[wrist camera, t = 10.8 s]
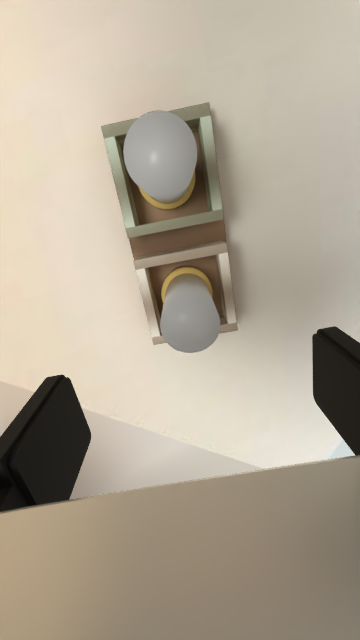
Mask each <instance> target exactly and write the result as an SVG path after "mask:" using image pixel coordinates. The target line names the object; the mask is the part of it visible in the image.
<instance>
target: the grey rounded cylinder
mask: <svg viewBox="0 0 360 640" xmlns="http://www.w3.org/2000/svg"><path fill="white" fill-rule="evenodd" d="M161 296H162V301H163V310H162V315H161V321H160V329H161V333H162V336H163V338H164V339H165V341H166V342H167V343H168V344H169V345H170V346H171V347H173V348H174V349H176V350H178V351H181V352H186V353H193V352H199V351H202V350H204V349H206V348H207V347H209V346H210V345H211V344H212V343H213V342H214V341H215V340H216V338H217V336H218V334H219V331H220V317H219V314H218V312H217V309H216V307H215V304H214V302H213V300H212V297H213V290H212V286H211V283H210V281H209V279H208V277H207V276H206V274H205V273H204V272H203V271H202V270H201V269H199V268H197V267H194V266H190V265H183V266H179V267H176V268H175V269H173V270H172V271H170V272H169V273H168V275H167V276H166V278H165V280H164V283H163V287H162V292H161Z"/></svg>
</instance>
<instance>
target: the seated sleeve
mask: <svg viewBox="0 0 360 640" xmlns="http://www.w3.org/2000/svg"><path fill="white" fill-rule="evenodd" d="M123 153H124V162H125V165H126V168H127V171H128V173H129V175H130V177H131V178H132V180H133V181H134V182H135V183H136V184H137V185H138V187H139V189H140V192H141V193H142V195H143V197H144V198H145V199H146V200H147V201H148V202H149V203H150V204H152V205H153V206H155V207H157V208H160V209H164V210H171V209H175V208H178V207H180V206H181V205H183V204H184V203H185V202H186V201H187V200H188V198H189V197H190V195H191V193H192V191H193V188H194V185H195V176H196V175H195V167H196V162H197V145H196V141H195V138H194V135H193V133H192V131H191V129H190V128H189V126H188V125H187V124H186V123H185V122H184V121H183V120H182V119H181V118H180V117H178V116H177V115H175V114H173V113H171V112H168V111H152V112H148V113H146V114H144V115H142V116H141V117H139V118H138V119H137V120H136V121H135V122H134V123H133V124H132V125H131V127H130V129H129V130H128V133H127V135H126V138H125V142H124V150H123Z"/></svg>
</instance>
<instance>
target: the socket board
mask: <svg viewBox="0 0 360 640" xmlns="http://www.w3.org/2000/svg"><path fill="white" fill-rule="evenodd" d="M168 112H171V113H173V114H175V115H177V116H178V117H180V118H181V119H182V120H183V121H184V122H185V123H186V124H187V125H188V126H189V128H190V129H191V131H192V133H193V135H194V138H195V141H196V145H197V162H196V167H195V175H196V176H195V185H194V188H193V191H192V193H191V195H190V197H189V198H188V200H187V201H186V202H185V203H184V204H183V205H181V206H180V207H178V208H175V209H171V210H164V209H160V208H157V207H155V206H153V205H152V204H150V203H149V202H148V201H147V200H146V199H145V198H144V197H143V195H142V193H141V192H140V189H139V187H138V185H137V184H136V183H135V182H134V181H133V180H132V178H131V177H130V175H129V173H128V171H127V168H126V165H125V162H124V153H123V150H124V142H125V138H126V135H127V133H128V130H129V129H130V127H131V125H132V124H133V123H134V122H135V121H136V120H137V119H138V118H136V119H131V120H127V121H122V122H118V123H113V124H109V125H104V126H101V128H102V132H103V136H104V140H105V145H106V149H107V153H108V157H109V161H110V165H111V170H112V174H113V178H114V182H115V186H116V190H117V195H118V199H119V203H120V207H121V211H122V215H123V219H124V224H125V228H126V232H127V236H128V238H129V241H130V245H131V249H132V253H133V257H134V265H135V269H136V274H137V278H138V282H139V286H140V290H141V294H142V299H143V303H144V307H145V311H146V315H147V319H148V323H149V328H150V332H151V336H152V340H153V344H154V345H156V344H162V343H167V342H166V341H165V339H164V338H163V336H162V333H161V329H160V321H161V315H162V310H163V301H162V296H161V292H162V287H163V283H164V280H165V278H166V276H167V275H168V273H169V272H170V271H172V270H173V269H175V268H176V267H179V266H183V265H190V266H194V267H197V268H199V269H201V270H202V271H203V272H204V273H205V274H206V276H207V277H208V279H209V281H210V283H211V286H212V290H213V297H212V300H213V302H214V304H215V307H216V309H217V312H218V314H219V317H220V331H219V333H225V332H231V331H236V330H238V329H237V321H236V313H235V305H234V297H233V289H232V281H231V273H230V265H229V257H228V249H227V243H226V235H225V227H224V217H223V209H222V201H221V193H220V185H219V177H218V169H217V161H216V153H215V145H214V137H213V129H212V121H211V113H210V105H209V103H204V104H199V105H195V106H190V107H186V108H181V109H177V110H172V111H168Z"/></svg>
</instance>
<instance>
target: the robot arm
mask: <svg viewBox="0 0 360 640" xmlns="http://www.w3.org/2000/svg"><path fill="white" fill-rule="evenodd" d="M313 396H314V399H315V402H316V404H317V405H318V406H319V408H320V409H321V410H322V412H323V413H324V414H325V416H326V417H327V418H328V420H329V421H330V422H331V423H332V425H333V426H334V427H335V429H336V430H337V431H338V433H339V434H340V435H341V437H342V438H343V439H344V441H345V442H346V443H347V445H348V446H349V447H350V449H351V450H352V451H353V453H354V454H355V455H356V456H349V457H342V458H335V459H328V460H322V461H315V462H308V463H301V464H295V465H288V466H281V467H275V468H268V469H261V470H255V471H249V472H242V473H235V474H229V475H223V476H216V477H209V478H203V479H196V480H190V481H184V482H178V483H171V484H165V485H158V486H152V487H145V488H140V489H133V490H127V491H121V492H114V493H108V494H102V495H96V496H90V497H84V498H77V499H71V500H69V498H70V496H71V493H72V490H73V487H74V484H75V482H76V479H77V476H78V474H79V471H80V468H81V465H82V462H83V460H84V457H85V454H86V452H87V449H88V446H89V443H90V440H91V432H90V429H89V426H88V424H87V421H86V419H85V416H84V413H83V411H82V408H81V406H80V403H79V401H78V398H77V395H76V393H75V390H74V388H73V385H72V383H71V380H70V379H69V378H68V377H67V378H66V377H65V376H64V375H57V376H52V377H47V378H46V379H45V380H44V381H43V383H42V384H41V385H40V386H39V388H38V389H37V390H36V392H35V393H34V394H33V396H32V397H31V398H30V399H29V401H28V402H27V403H26V405H25V406H24V407H23V409H22V410H21V411H20V413H19V414H18V415H17V416H16V418H15V419H14V420H13V421H12V423H11V424H10V425H9V426H8V428H7V429H6V430H5V432H4V433H3V434H2V436H1V437H0V640H360V343H359V342H357V341H356V340H354V339H353V338H352V337H350V336H349V335H347V334H346V333H344V332H343V331H341V330H340V329H339V328H337V327H329V328H323V329H319V330H318V331H317V334H314V335H313Z"/></svg>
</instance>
